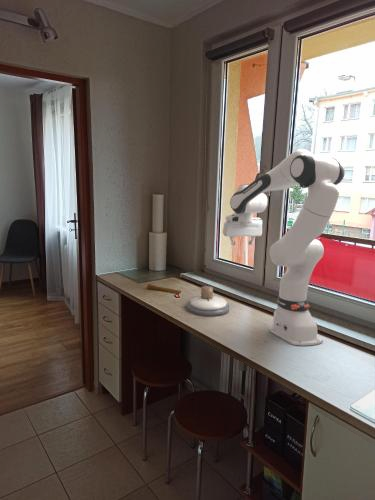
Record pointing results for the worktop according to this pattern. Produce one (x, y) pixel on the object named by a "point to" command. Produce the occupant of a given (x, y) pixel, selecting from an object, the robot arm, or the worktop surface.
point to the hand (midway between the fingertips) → (241, 244)
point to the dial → (208, 300)
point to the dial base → (208, 311)
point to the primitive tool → (162, 289)
